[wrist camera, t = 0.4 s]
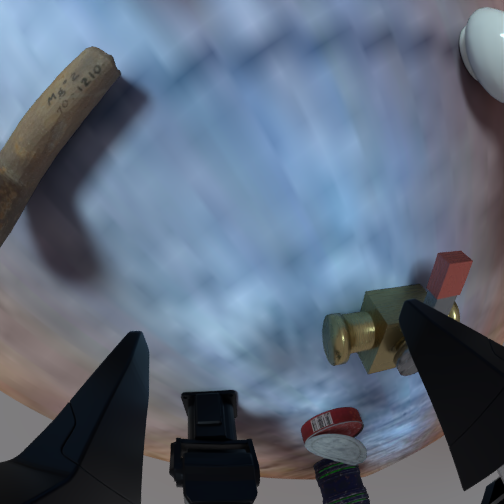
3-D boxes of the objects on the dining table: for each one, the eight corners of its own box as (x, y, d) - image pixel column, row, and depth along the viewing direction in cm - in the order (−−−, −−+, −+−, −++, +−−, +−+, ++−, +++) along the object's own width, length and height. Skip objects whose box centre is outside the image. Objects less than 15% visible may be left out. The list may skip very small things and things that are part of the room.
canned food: (323, 413, 48) (317, 463, 42) (291, 405, 43) (283, 463, 37) (380, 408, 41) (376, 464, 36) (355, 401, 36) (349, 468, 30)
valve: (426, 325, 33) (447, 355, 28) (318, 346, 31) (333, 386, 26) (444, 279, 29) (472, 309, 24) (328, 295, 28) (349, 337, 23)
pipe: (153, 89, 17) (103, 86, 9) (27, 237, 21) (-34, 308, 12) (100, 32, 14) (24, 1, 6) (-15, 190, 18) (-86, 243, 9)
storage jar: (322, 456, 50) (338, 515, 38) (361, 448, 52) (380, 502, 39) (307, 471, 55) (320, 524, 42) (343, 464, 57) (359, 513, 44)
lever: (418, 359, 26) (425, 370, 25) (387, 368, 26) (394, 380, 24) (465, 250, 20) (477, 260, 18) (432, 253, 19) (444, 264, 18)
